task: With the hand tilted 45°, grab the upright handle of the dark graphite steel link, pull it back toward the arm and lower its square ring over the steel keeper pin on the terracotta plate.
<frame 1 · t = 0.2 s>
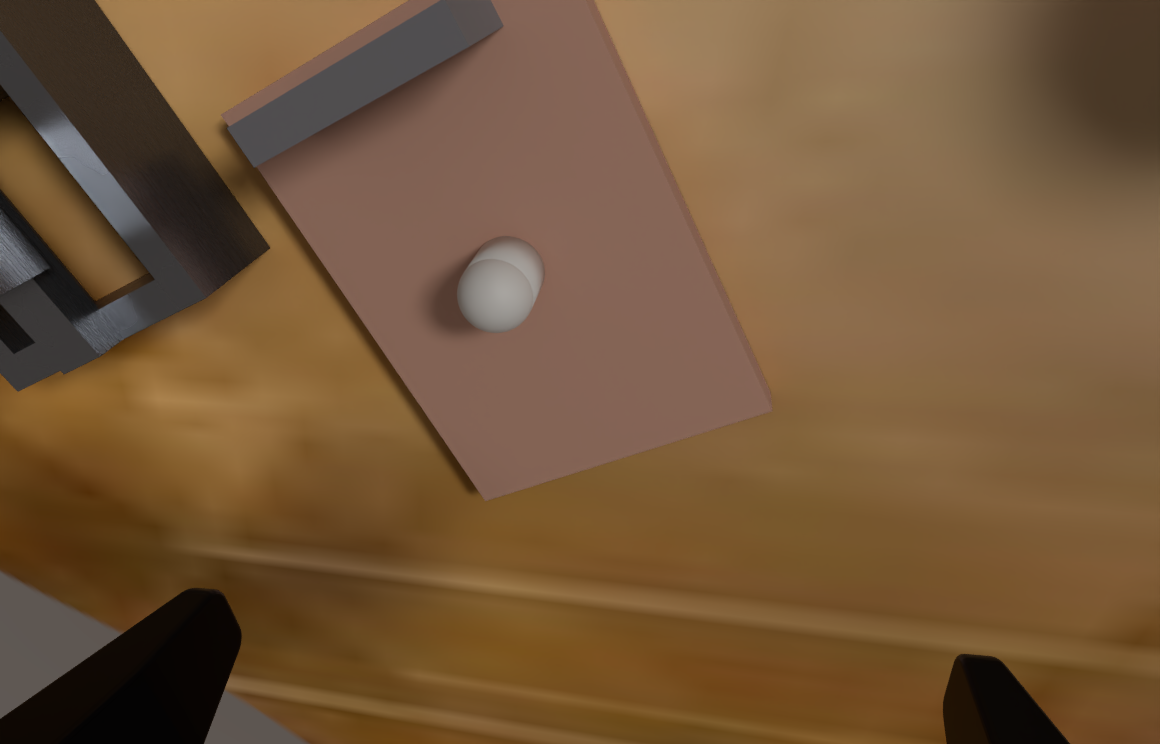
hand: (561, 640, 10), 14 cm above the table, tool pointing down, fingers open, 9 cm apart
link: (90, 183, 24), on the table
keeper: (517, 256, 23), on the table
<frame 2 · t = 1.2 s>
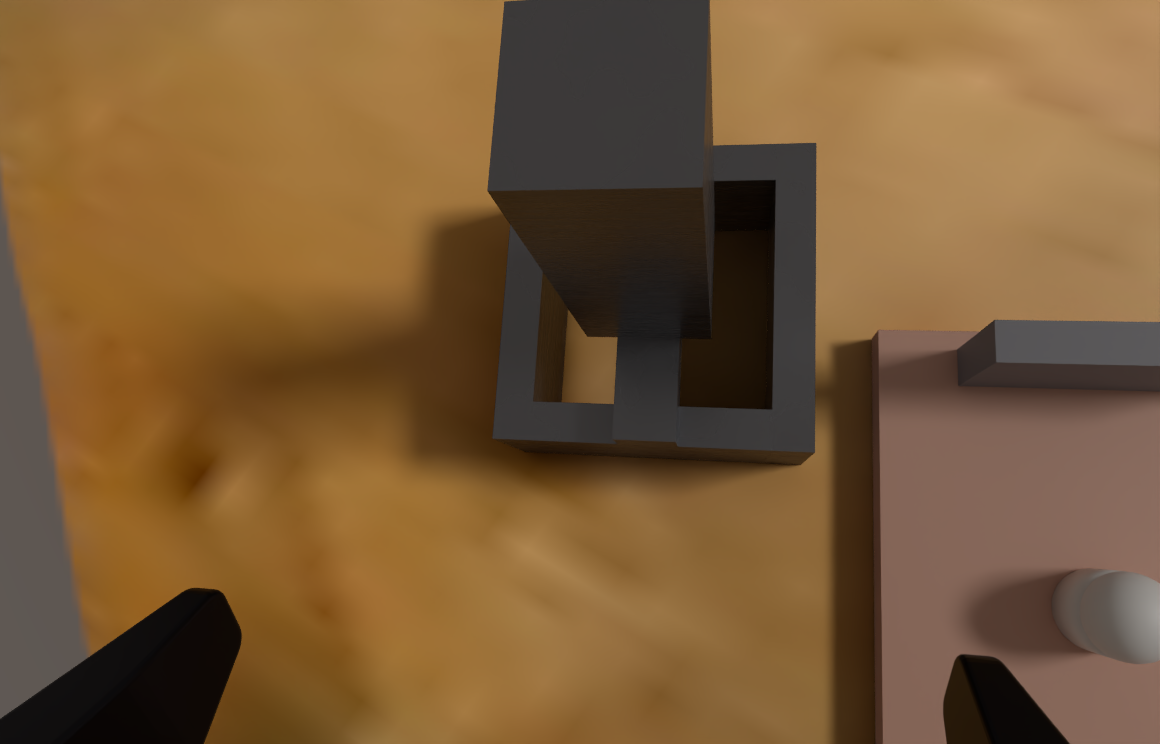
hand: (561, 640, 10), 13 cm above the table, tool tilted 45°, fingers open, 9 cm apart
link: (664, 325, 24), on the table
keeper: (1078, 606, 20), on the table
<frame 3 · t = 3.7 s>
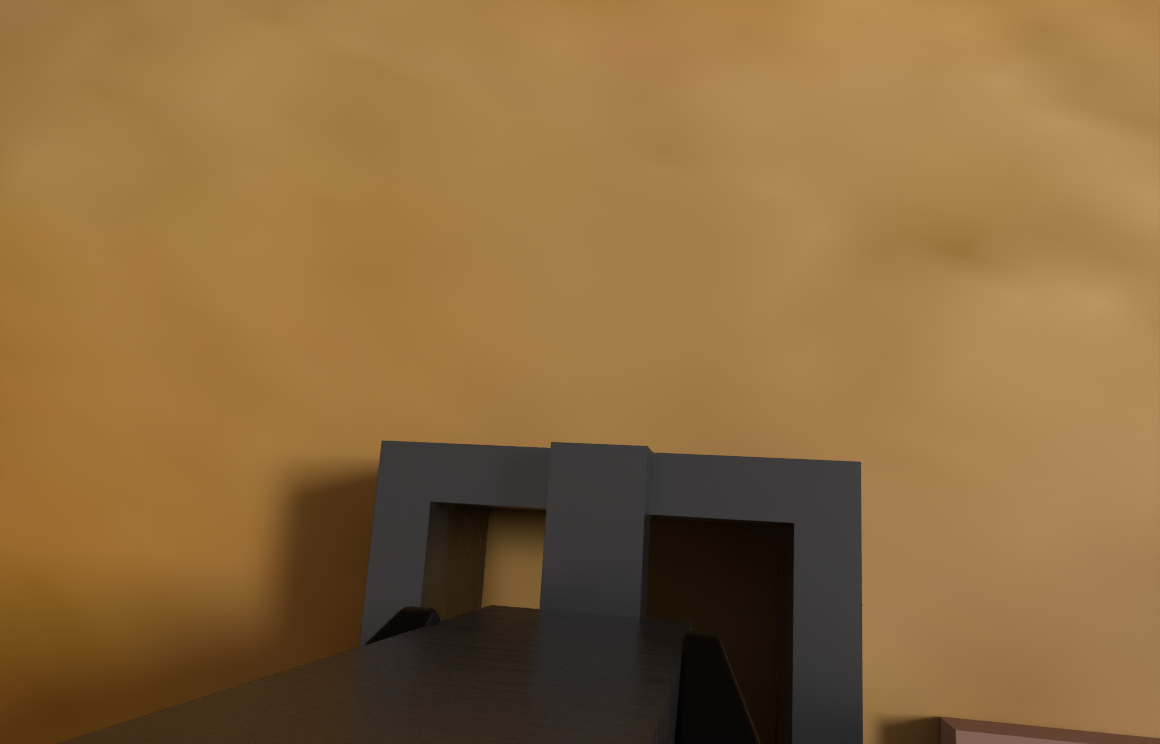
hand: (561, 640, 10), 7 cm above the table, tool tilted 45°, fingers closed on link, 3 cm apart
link: (621, 668, 16), on the table, touching gripper
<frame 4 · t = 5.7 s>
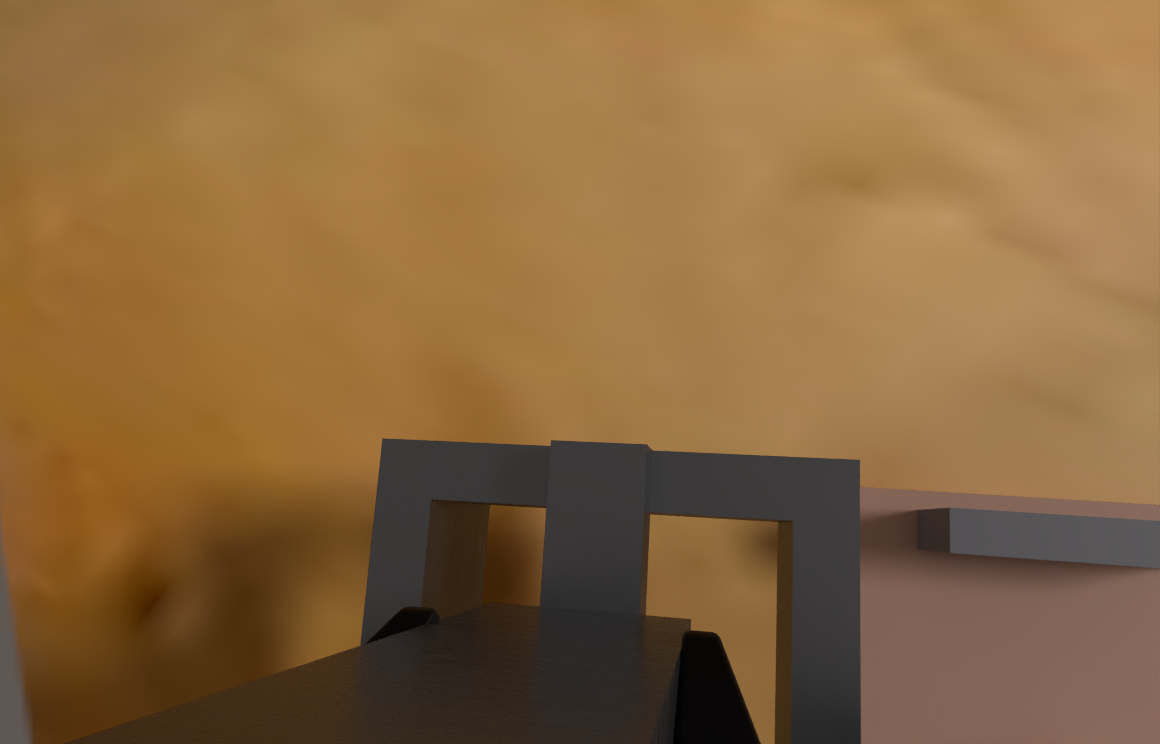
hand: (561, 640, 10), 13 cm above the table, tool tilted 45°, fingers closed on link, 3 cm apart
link: (621, 665, 16), point 7 cm above the table, touching gripper
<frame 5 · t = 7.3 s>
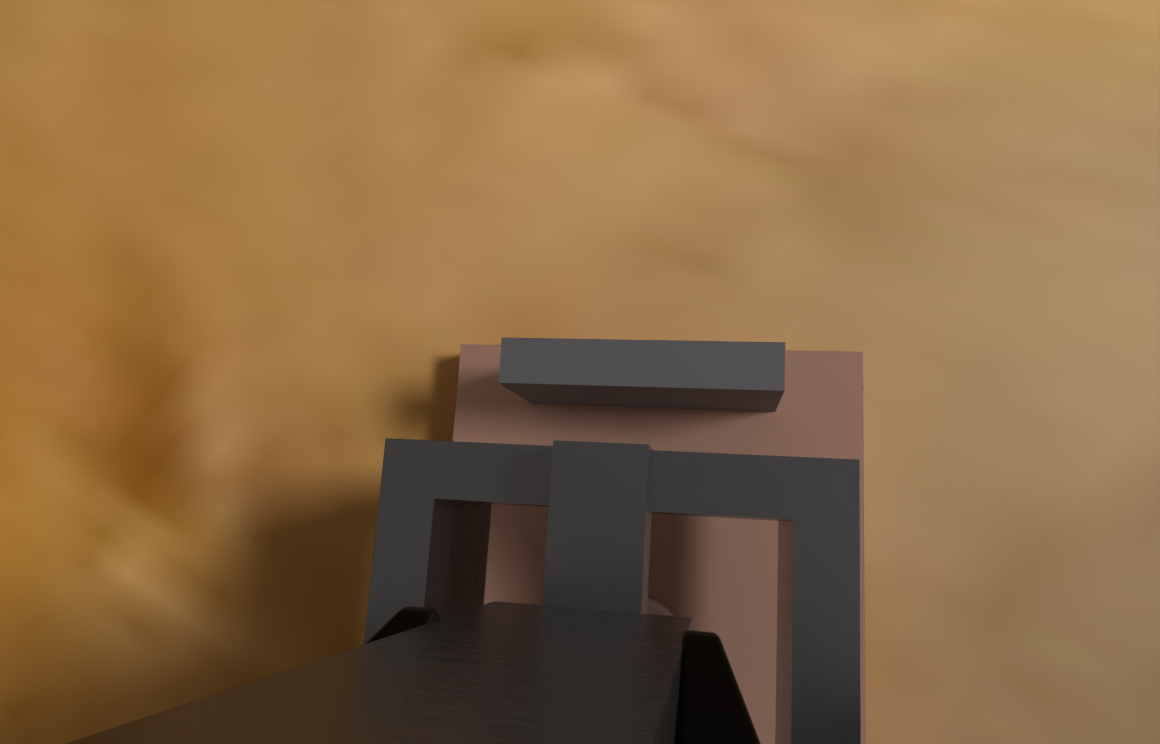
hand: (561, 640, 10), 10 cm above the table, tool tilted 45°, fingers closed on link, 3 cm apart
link: (622, 663, 16), point 4 cm above the table, touching gripper
keeper: (644, 635, 19), on the table
when the fingers open (9 cm above the table, at t = 8.2 s): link drops 1 cm, resting on keeper.
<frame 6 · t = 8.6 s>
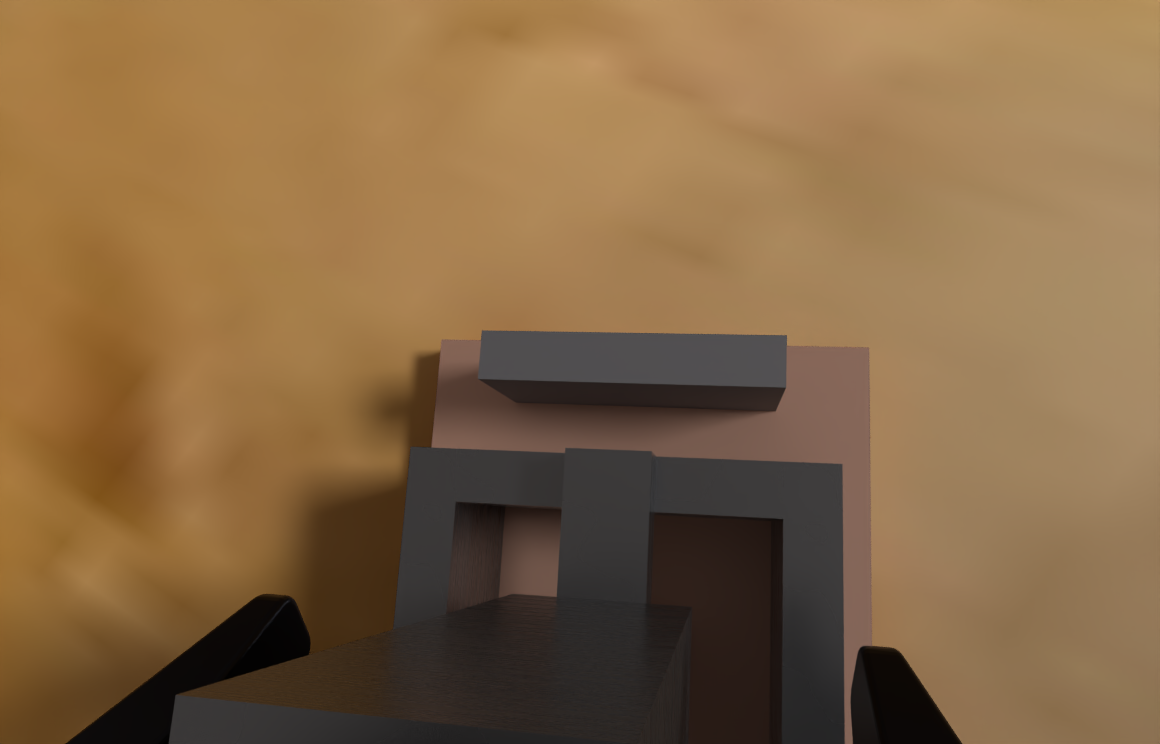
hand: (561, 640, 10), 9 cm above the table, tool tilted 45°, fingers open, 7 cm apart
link: (628, 653, 17), point 1 cm above the table, touching keeper
keeper: (635, 650, 18), on the table
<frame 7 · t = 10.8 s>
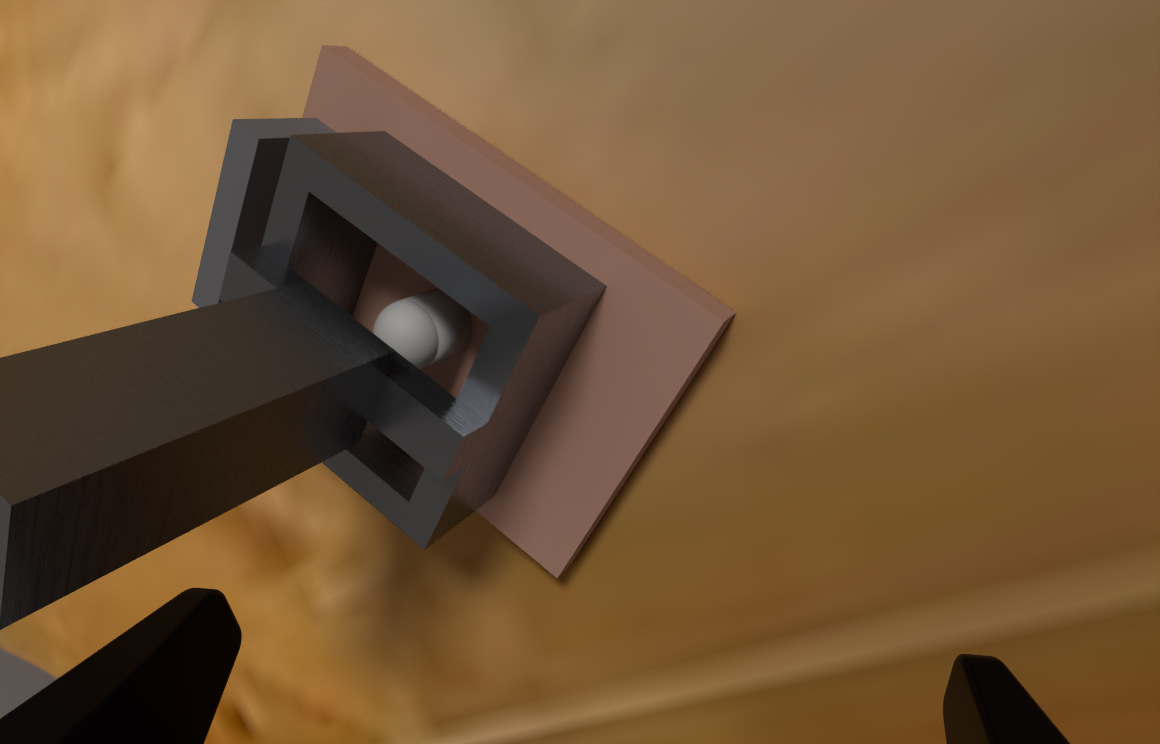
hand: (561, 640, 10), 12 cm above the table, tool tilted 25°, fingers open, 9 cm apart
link: (442, 321, 23), point 1 cm above the table, touching keeper
keeper: (463, 314, 24), on the table
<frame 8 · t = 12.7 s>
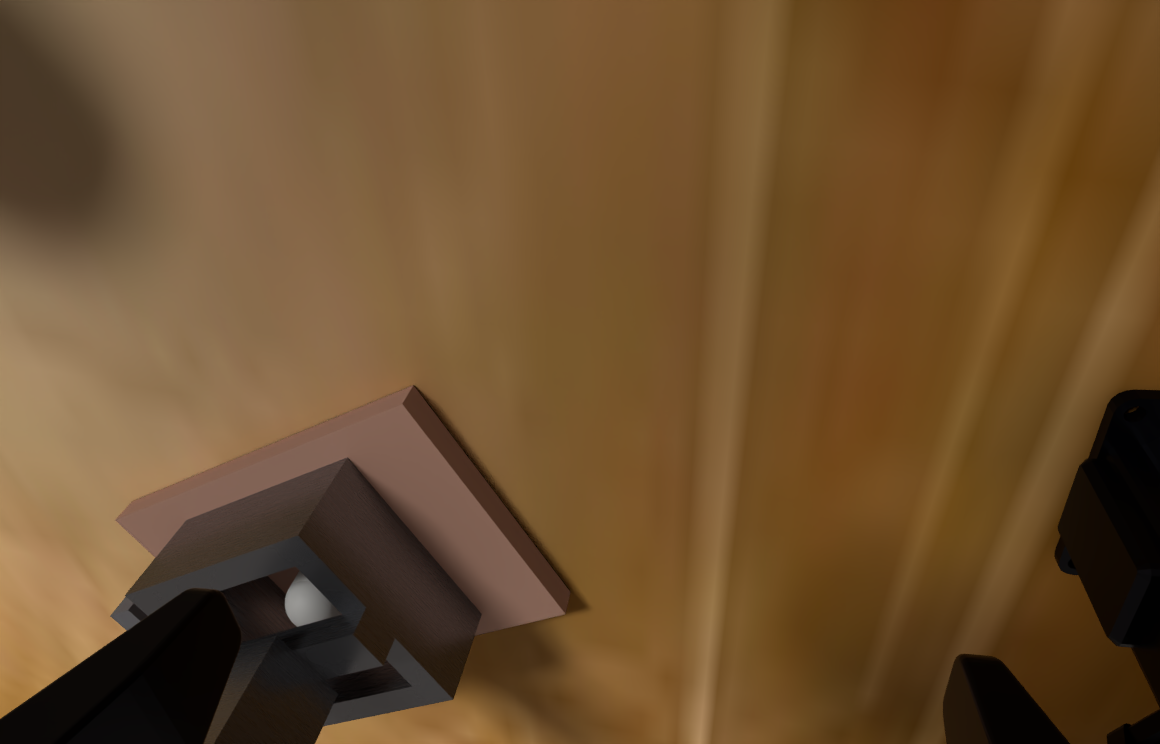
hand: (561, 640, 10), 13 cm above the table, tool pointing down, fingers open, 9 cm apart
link: (334, 567, 29), point 1 cm above the table, touching keeper
keeper: (346, 545, 29), on the table
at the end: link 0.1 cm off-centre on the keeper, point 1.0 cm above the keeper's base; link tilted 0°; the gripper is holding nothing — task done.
